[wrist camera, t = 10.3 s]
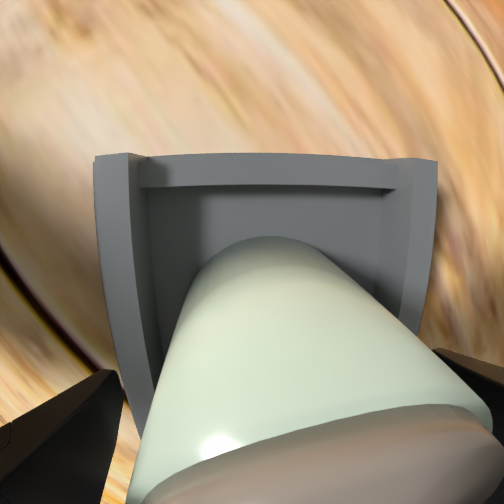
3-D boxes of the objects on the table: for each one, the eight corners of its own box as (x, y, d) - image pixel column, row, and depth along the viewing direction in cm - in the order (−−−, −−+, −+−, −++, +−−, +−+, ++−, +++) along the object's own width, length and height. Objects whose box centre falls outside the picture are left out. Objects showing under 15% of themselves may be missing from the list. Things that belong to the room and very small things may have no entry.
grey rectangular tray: (163, 489, 14) (154, 561, 9) (98, 162, 10) (-1, 158, 4) (357, 476, 15) (383, 540, 9) (419, 164, 10) (526, 168, 5)
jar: (191, 385, 11) (168, 597, 3) (178, 237, 10) (25, 452, 2) (337, 378, 12) (427, 557, 3) (354, 235, 10) (577, 366, 2)
